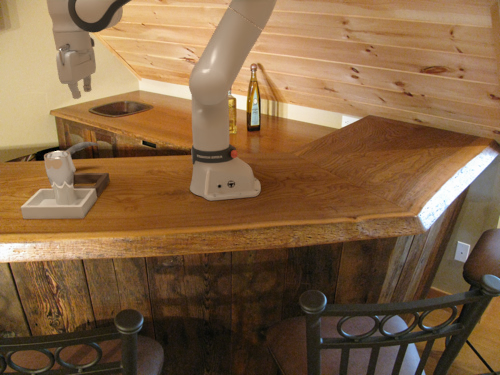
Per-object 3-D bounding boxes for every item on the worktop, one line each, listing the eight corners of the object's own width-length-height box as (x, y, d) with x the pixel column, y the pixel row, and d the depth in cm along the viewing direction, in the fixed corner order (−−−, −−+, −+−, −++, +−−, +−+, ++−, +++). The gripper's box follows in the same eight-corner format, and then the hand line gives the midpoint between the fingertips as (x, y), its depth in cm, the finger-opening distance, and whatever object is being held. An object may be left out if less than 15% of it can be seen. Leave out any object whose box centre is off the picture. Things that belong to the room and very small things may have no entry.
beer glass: (71, 196, 120) (62, 148, 114) (84, 202, 117) (76, 153, 110) (48, 204, 115) (38, 155, 109) (61, 211, 112) (51, 160, 105)
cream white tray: (97, 199, 120) (95, 188, 119) (83, 218, 109) (81, 206, 108) (42, 199, 120) (40, 188, 118) (23, 218, 109) (20, 207, 107)
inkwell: (47, 169, 142) (41, 142, 138) (101, 162, 149) (97, 136, 145) (47, 178, 134) (41, 150, 130) (103, 171, 141) (99, 143, 137)
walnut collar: (109, 181, 133) (108, 172, 131) (98, 196, 122) (97, 187, 121) (72, 181, 132) (71, 172, 131) (58, 197, 121) (56, 188, 120)
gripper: (71, 46, 99) (82, 102, 104) (95, 39, 117) (103, 87, 123) (45, 46, 98) (57, 103, 104) (73, 40, 117) (82, 88, 123)
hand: (82, 94), depth 114 cm, fingers open, 8 cm apart
